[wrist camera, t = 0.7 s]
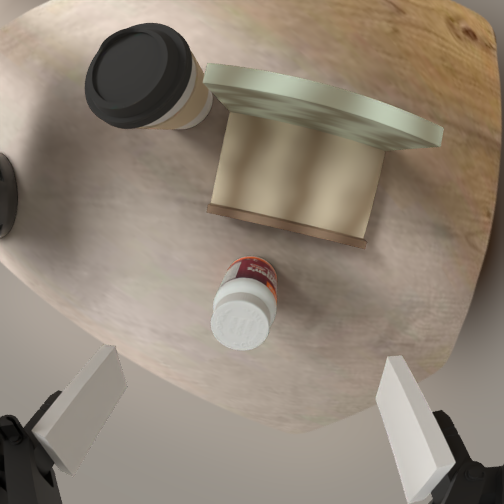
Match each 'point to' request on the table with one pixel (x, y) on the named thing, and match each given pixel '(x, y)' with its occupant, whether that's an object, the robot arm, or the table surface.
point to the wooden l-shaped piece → (305, 152)
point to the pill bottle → (245, 304)
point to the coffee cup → (147, 80)
